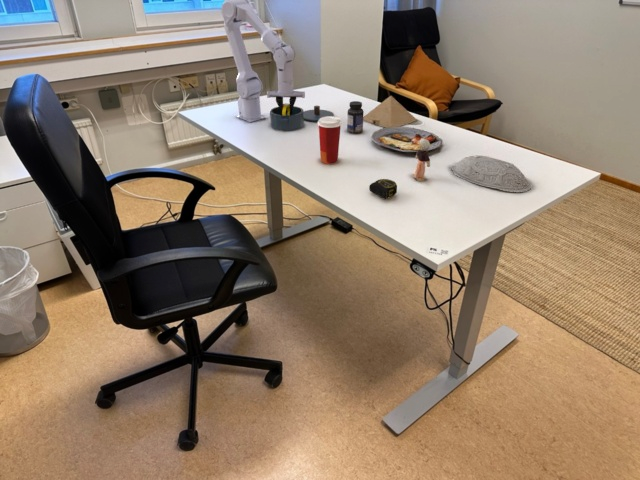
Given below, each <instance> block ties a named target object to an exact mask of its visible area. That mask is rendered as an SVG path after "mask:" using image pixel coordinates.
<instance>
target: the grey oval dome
mask: <svg viewBox="0 0 640 480" xmlns="http://www.w3.org/2000/svg"><path fill="white" fill-rule="evenodd" d="M450 170H451V171H452V173H453V175H455V176H456V177H458V178H461V179H463V180H465V181H468V182H470V183H472V184H476V185H479V186H482V187H486V188H492V189H497V190H500V191H503V192H510V193H524V192H527V191H530V190H531V189H532V183H531V182H530V181H529V180H528V179H527V178H526V177H525V174H524V173H523V172H522V171H521V170H520V169H519V168H518V166H516V165H515V164H514V163H512V162H508V161H505V160H502V159H498V158H495V157H490V156H487V155H481V154H480V155H479V154H477V155H470V156H465V157H463V158H461V159H460V160H459V161H458V162H457V163H456V164H455V165H451V167H450Z"/></svg>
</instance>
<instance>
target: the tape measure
mask: <svg viewBox="0 0 640 480" xmlns="http://www.w3.org/2000/svg"><path fill="white" fill-rule="evenodd" d="M368 189H369V192H371V193H373V194H374V195H376V196H378V197H379V198H381V199H383V200H387V199H389V198H392V197H395V195H396V194H397V191H398V184H397V183H396V182H395V181H394V180H392V179H388V178H379V179H377V180H376V181H374V182H372V183H370V185H368Z"/></svg>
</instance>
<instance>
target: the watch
mask: <svg viewBox="0 0 640 480" xmlns="http://www.w3.org/2000/svg"><path fill="white" fill-rule="evenodd" d="M283 106H284V107H283V110H282V115H286V108H287V109H288V114H287V115H290V103H287V102H286V103H283Z"/></svg>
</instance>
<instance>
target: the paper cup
mask: <svg viewBox="0 0 640 480" xmlns="http://www.w3.org/2000/svg"><path fill="white" fill-rule="evenodd" d="M316 124H317V126H318V139H319V140H318V141H319V153H320V162H321V163H323V164H325V165H332V164H336V163H338V160H339V150H340V148H339V147H340V139H341V126H342V121H341V118H339V117H337V116H333V117H332V116H327V117H322V118H320V119H319V120H318V121H317V123H316Z"/></svg>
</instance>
